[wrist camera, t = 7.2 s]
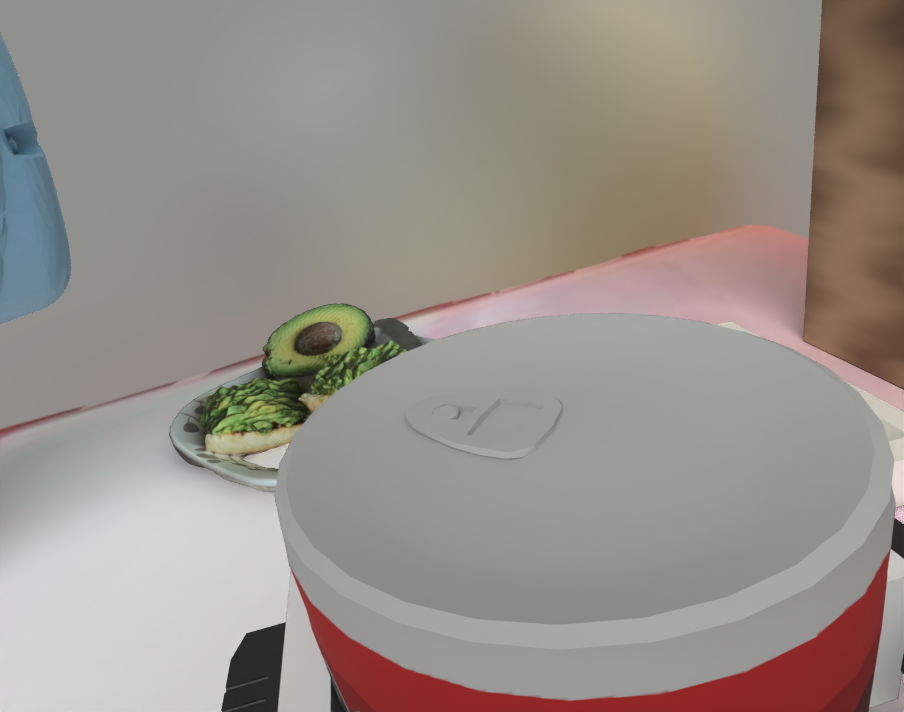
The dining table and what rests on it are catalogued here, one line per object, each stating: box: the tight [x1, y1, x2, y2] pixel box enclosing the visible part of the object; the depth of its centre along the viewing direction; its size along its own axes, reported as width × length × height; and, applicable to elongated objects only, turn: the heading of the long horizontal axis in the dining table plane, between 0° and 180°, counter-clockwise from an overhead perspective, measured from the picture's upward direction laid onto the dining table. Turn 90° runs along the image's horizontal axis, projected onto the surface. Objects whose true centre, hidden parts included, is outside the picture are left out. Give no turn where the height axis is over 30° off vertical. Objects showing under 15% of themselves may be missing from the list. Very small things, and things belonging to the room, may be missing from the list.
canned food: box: [275, 313, 896, 712], centre depth 11 cm, size 8×8×11 cm
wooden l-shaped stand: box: [803, 0, 904, 389], centre depth 23 cm, size 12×17×20 cm
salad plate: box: [169, 304, 435, 492], centre depth 35 cm, size 19×18×5 cm
